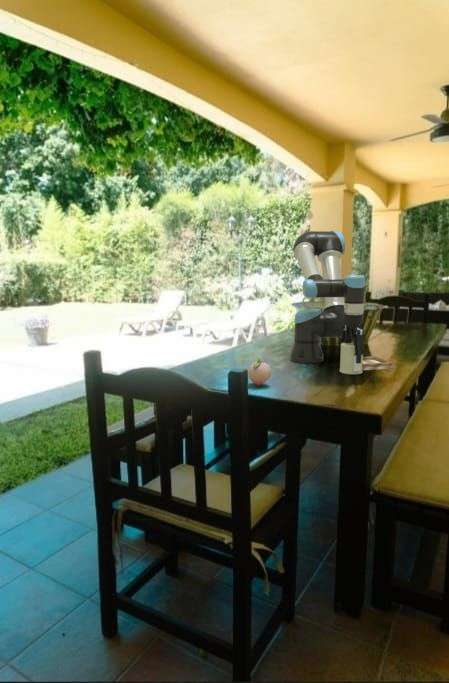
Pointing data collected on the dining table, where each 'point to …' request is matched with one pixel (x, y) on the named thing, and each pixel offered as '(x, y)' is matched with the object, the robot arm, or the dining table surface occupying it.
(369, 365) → the coaster board
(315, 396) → the dining table surface
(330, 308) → the robot arm
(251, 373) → the decorative fruit
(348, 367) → the can
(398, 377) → the dining table surface
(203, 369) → the dining table surface
